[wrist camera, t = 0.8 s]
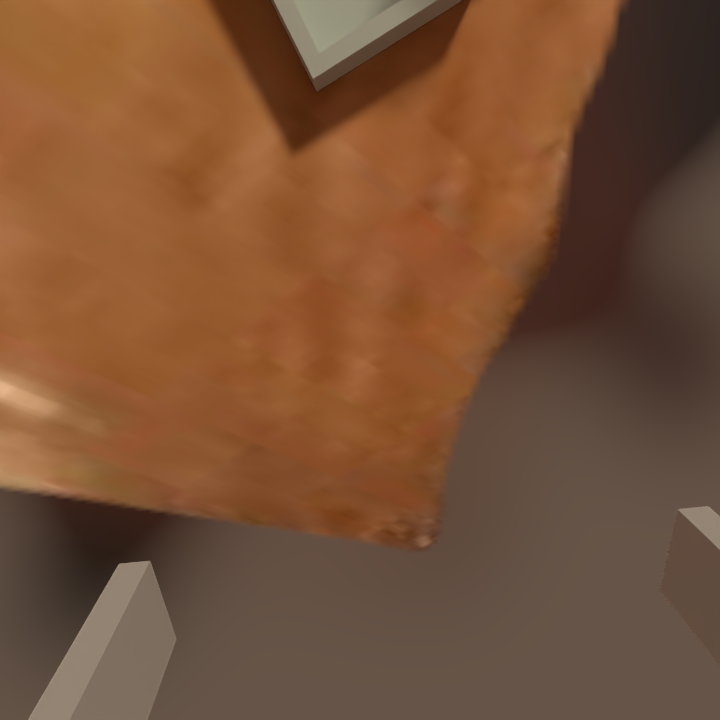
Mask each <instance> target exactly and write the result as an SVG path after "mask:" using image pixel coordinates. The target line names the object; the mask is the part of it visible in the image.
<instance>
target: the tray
mask: <svg viewBox="0 0 720 720" xmlns="http://www.w3.org/2000/svg"><path fill="white" fill-rule="evenodd" d="M461 1H462V0H271V2H272V4H273V6H274V8H275V10H276V12H277V14H278V16H279V18H280V20H281V22H282V24H283V26H284V28H285V30H286V32H287V34H288V36H289V38H290V40H291V42H292V44H293V46H294V48H295V50H296V52H297V54H298V56H299V58H300V60H301V62H302V64H303V66H304V68H305V70H306V72H307V74H308V76H309V78H310V80H311V82H312V84H313V86H314V88H315V90H316V92H318V91H319V90H321V89H322V88H324V87H326V86H327V85H329V84H330V83H332V82H334V81H335V80H337V79H338V78H340V77H341V76H343V75H345V74H346V73H348V72H349V71H351V70H353V69H354V68H356V67H357V66H359V65H361V64H362V63H364V62H365V61H367V60H368V59H370V58H372V57H373V56H375V55H376V54H378V53H380V52H381V51H383V50H384V49H386V48H388V47H389V46H391V45H392V44H394V43H396V42H397V41H399V40H400V39H402V38H403V37H405V36H407V35H408V34H410V33H411V32H413V31H415V30H416V29H418V28H419V27H421V26H423V25H424V24H426V23H427V22H429V21H430V20H432V19H434V18H435V17H437V16H438V15H440V14H442V13H443V12H445V11H446V10H448V9H450V8H451V7H453V6H454V5H456V4H457V3H459V2H461Z"/></svg>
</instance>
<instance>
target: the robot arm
mask: <svg viewBox="0 0 720 720" xmlns="http://www.w3.org/2000/svg"><path fill="white" fill-rule="evenodd" d="M660 592H661V593H662V594H663V596H664V597H665V598H666V599H667V601H668V602H669V603H670V604H671V606H672V607H673V608H674V609H675V611H676V612H677V613H678V615H679V616H680V617H681V619H682V620H683V621H684V622H685V623H686V625H687V626H688V627H689V629H690V630H691V631H692V633H693V634H694V635H695V636H696V637H697V639H698V640H699V641H700V643H701V644H702V645H703V647H704V648H705V649H706V650H707V651H708V653H709V654H710V655H711V657H712V658H713V659H714V660H715V662H716V663H717V664H718V665H719V667H720V516H719V515H718V514H716V513H715V512H714V511H713V510H712V509H711V508H710V507H708V506H707V507H696V508H686V509H678V510H677V515H676V519H675V524H674V528H673V533H672V538H671V542H670V547H669V551H668V556H667V561H666V565H665V569H664V574H663V579H662V583H661V588H660ZM175 642H176V636H175V633H174V630H173V627H172V624H171V621H170V618H169V615H168V612H167V609H166V606H165V603H164V600H163V598H162V594H161V592H160V589H159V586H158V583H157V580H156V577H155V574H154V571H153V568H152V565H151V562H150V561H144V562H134V563H123V564H119V565H118V567H117V568H116V570H115V572H114V573H113V575H112V577H111V579H110V580H109V582H108V584H107V585H106V587H105V589H104V591H103V592H102V594H101V596H100V597H99V599H98V601H97V603H96V604H95V606H94V608H93V610H92V611H91V613H90V615H89V616H88V618H87V620H86V622H85V623H84V625H83V627H82V628H81V630H80V632H79V633H78V635H77V637H76V639H75V640H74V642H73V644H72V645H71V647H70V649H69V651H68V652H67V654H66V656H65V657H64V659H63V661H62V663H61V664H60V666H59V668H58V669H57V671H56V673H55V675H54V676H53V678H52V680H51V682H50V683H49V685H48V687H47V689H46V690H45V692H44V694H43V695H42V697H41V699H40V700H39V702H38V704H37V706H36V707H35V709H34V711H33V712H32V714H31V716H30V717H29V719H28V720H147V719H148V717H149V714H150V711H151V708H152V706H153V703H154V700H155V697H156V694H157V691H158V689H159V686H160V683H161V680H162V678H163V675H164V672H165V669H166V667H167V663H168V661H169V658H170V656H171V653H172V650H173V647H174V644H175Z"/></svg>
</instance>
